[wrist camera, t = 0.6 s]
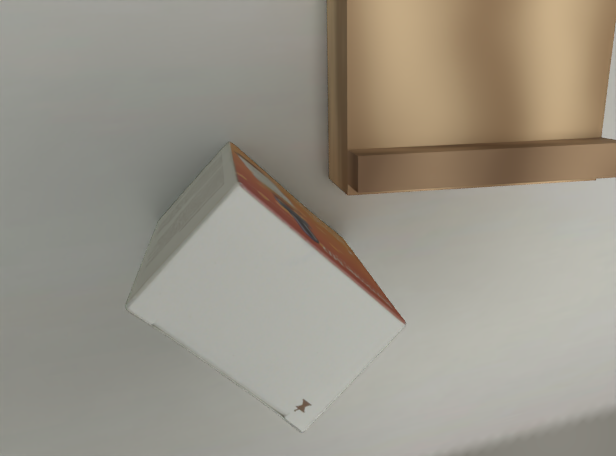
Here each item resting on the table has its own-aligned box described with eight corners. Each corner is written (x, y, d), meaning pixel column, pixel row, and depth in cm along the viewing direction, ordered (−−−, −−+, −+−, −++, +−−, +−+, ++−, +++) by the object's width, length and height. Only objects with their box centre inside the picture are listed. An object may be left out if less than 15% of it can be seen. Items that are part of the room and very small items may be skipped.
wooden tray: (328, 178, 28) (357, 205, 22) (324, -166, 24) (359, -236, 18) (546, 165, 30) (622, 188, 24) (578, -155, 26) (679, -216, 20)
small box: (344, 239, 29) (414, 328, 19) (273, 315, 30) (306, 441, 20) (228, 136, 27) (239, 176, 17) (153, 221, 27) (120, 310, 17)
